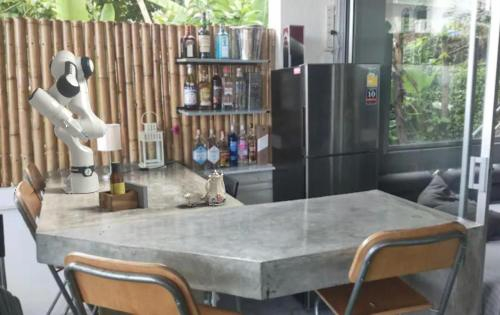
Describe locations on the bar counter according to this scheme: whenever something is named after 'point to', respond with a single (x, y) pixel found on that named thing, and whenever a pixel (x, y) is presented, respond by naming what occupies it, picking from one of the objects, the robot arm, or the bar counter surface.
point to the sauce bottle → (116, 180)
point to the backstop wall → (138, 193)
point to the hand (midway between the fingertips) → (87, 140)
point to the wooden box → (118, 200)
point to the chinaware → (210, 192)
